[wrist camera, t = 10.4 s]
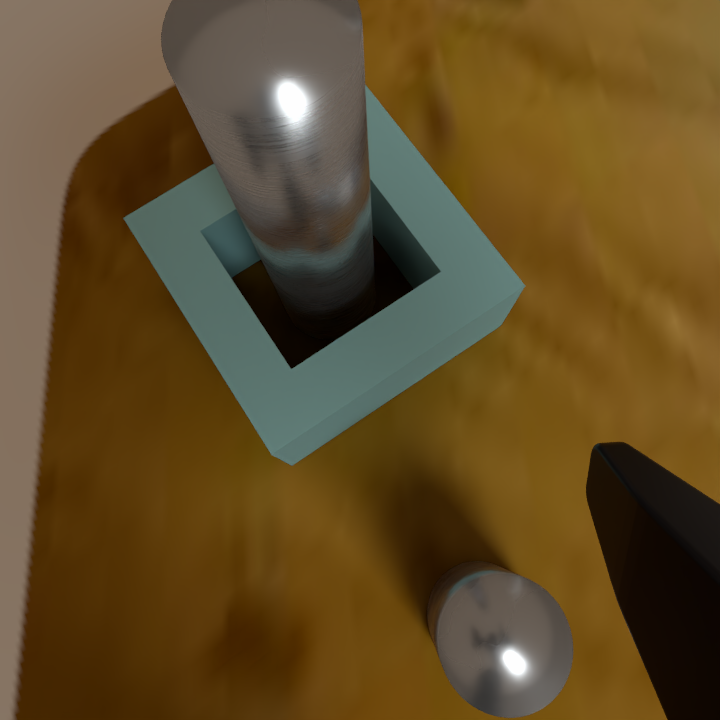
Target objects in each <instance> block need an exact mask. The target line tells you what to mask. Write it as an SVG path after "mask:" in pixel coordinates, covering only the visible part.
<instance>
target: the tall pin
mask: <svg viewBox="0 0 720 720" xmlns="http://www.w3.org/2000/svg"><path fill="white" fill-rule="evenodd" d="M161 35H162V36H161V40H162V41H161V42H162V51H163V57H164V60H165V63H166V65H167V68H168V70H169V72H170V74H171V76H172V79H173V81H174V83H175V85H176V87H177V89H178V91H179V93H180V95H181V97H182V99H183V101H184V103H185V105H186V107H187V109H188V111H189V113H190V115H191V117H192V119H193V121H194V123H195V126H196V128H197V130H198V132H199V134H200V136H201V138H202V140H203V142H204V144H205V146H206V148H207V150H208V152H209V154H210V156H211V158H212V160H213V162H214V164H215V166H216V168H217V170H218V172H219V175H220V177H221V179H222V181H223V183H224V185H225V187H226V189H227V191H228V193H229V195H230V197H231V199H232V201H233V203H234V205H235V207H236V209H237V211H238V213H239V215H240V217H241V219H242V222H243V224H244V226H245V228H246V230H247V232H248V234H249V236H250V238H251V240H252V242H253V244H254V246H255V248H256V250H257V252H258V254H259V256H260V258H261V260H262V262H263V264H264V266H265V269H266V271H267V273H268V275H269V277H270V279H271V281H272V283H273V285H274V287H275V289H276V291H277V293H278V295H279V297H280V299H281V301H282V303H283V305H284V307H285V309H286V311H287V313H288V315H289V317H290V319H291V321H292V322H293V323H294V325H295V326H296V327H297V328H298V329H300V330H301V331H302V332H304V333H305V334H307V335H309V336H311V337H314V338H318V339H323V340H334V339H338V338H340V337H342V336H343V335H345V334H346V333H348V332H349V331H351V330H352V329H354V328H355V327H357V326H358V325H360V324H361V323H363V322H365V321H366V320H368V319H369V317H370V315H371V313H372V311H373V308H374V305H375V299H376V291H375V271H374V251H373V231H372V211H371V191H370V171H369V151H368V131H367V111H366V91H365V71H364V51H363V31H362V18H361V12H360V8H359V4H358V1H357V0H172V2H171V4H170V6H169V8H168V10H167V12H166V15H165V19H164V22H163V27H162V34H161Z"/></svg>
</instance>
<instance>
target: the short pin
mask: <svg viewBox="0 0 720 720" xmlns="http://www.w3.org/2000/svg"><path fill="white" fill-rule="evenodd" d="M427 622H428V628H429V631H430V635H431V637H432V640H433V642H434V645H435V648H436V650H437V653H438V656H439V658H440V661H441V663H442V666H443V669H444V671H445V673H446V676H447V678H448V679H449V681H450V683H451V684H452V686H453V687H454V689H455V690H456V691H457V692H458V693H459V695H460V696H461V697H462V698H463V699H464V700H466V701H467V702H468V703H469V704H471V705H472V706H474V707H475V708H477V709H478V710H481V711H483V712H485V713H487V714H491V715H494V716H499V717H509V718H514V717H522V716H526V715H529V714H532V713H534V712H537V711H539V710H540V709H542V708H544V707H545V706H547V705H548V704H549V703H550V702H551V701H552V700H554V698H555V697H556V696H557V695H558V694H559V693H560V691H561V689H562V688H563V686H564V685H565V683H566V680H567V678H568V676H569V673H570V669H571V665H572V659H573V641H572V635H571V630H570V627H569V624H568V621H567V619H566V617H565V615H564V612H563V611H562V609H561V608H560V606H559V604H558V603H557V602H556V601H555V599H554V598H553V597H552V596H551V595H550V594H549V593H548V592H547V591H546V590H545V589H543V588H542V587H541V586H539V585H538V584H536V583H535V582H533V581H531V580H529V579H527V578H524V577H522V576H520V575H518V574H515V573H513V572H511V571H509V570H506V569H504V568H502V567H500V566H497V565H495V564H492V563H488V562H482V561H471V562H466V563H462V564H459V565H457V566H455V567H453V568H451V569H450V570H448V571H447V572H446V573H445V574H443V575H442V576H441V578H440V579H439V580H438V581H437V583H436V584H435V586H434V588H433V590H432V592H431V594H430V597H429V601H428V606H427Z"/></svg>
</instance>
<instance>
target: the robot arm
mask: <svg viewBox="0 0 720 720" xmlns="http://www.w3.org/2000/svg"><path fill="white" fill-rule="evenodd" d="M586 496H587V502H588V506H589V509H590V512H591V516H592V519H593V522H594V526H595V529H596V532H597V536H598V539H599V543H600V546H601V549H602V553H603V556H604V559H605V563H606V566H607V569H608V573H609V576H610V579H611V583H612V586H613V589H614V592H615V595H616V598H617V601H618V604H619V606H620V609H621V611H622V614H623V616H624V619H625V621H626V623H627V626H628V628H629V630H630V633H631V635H632V637H633V640H634V642H635V644H636V647H637V649H638V651H639V654H640V656H641V658H642V661H643V663H644V665H645V668H646V670H647V673H648V675H649V677H650V680H651V682H652V684H653V687H654V689H655V691H656V694H657V696H658V698H659V701H660V703H661V705H662V708H663V710H664V712H665V715H666V717H667V719H668V720H720V504H719V503H717V502H716V501H714V500H712V499H711V498H709V497H708V496H706V495H705V494H703V493H702V492H700V491H699V490H697V489H696V488H694V487H693V486H691V485H690V484H688V483H687V482H685V481H683V480H682V479H680V478H679V477H677V476H676V475H674V474H673V473H671V472H670V471H668V470H667V469H665V468H664V467H662V466H661V465H659V464H657V463H656V462H654V461H653V460H651V459H650V458H648V457H647V456H645V455H644V454H642V453H641V452H639V451H638V450H636V449H635V448H633V447H632V446H630V445H628V444H626V443H624V442H609V443H598V444H596V445H595V446H594V447H593V449H592V452H591V458H590V465H589V471H588V478H587V484H586Z"/></svg>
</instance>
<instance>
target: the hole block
mask: <svg viewBox="0 0 720 720" xmlns="http://www.w3.org/2000/svg"><path fill="white" fill-rule="evenodd" d="M365 91H366V111H367V131H368V151H369V171H370V191H371V211H372V231H373V235H374V236H375V238H376V239H377V241H378V242H379V243H380V245H381V246H382V247H383V249H384V250H385V251H386V253H387V254H388V255H389V257H390V258H391V259H392V261H393V262H394V263H395V265H396V266H397V267H398V269H399V270H400V272H401V273H402V274H403V276H404V277H405V278H406V280H407V281H408V282H409V284H410V285H411V286H412V288H413V289H414V290H412V291H411V292H409V293H408V294H406V295H404V296H403V297H401V298H400V299H398V300H397V301H395V302H394V303H392V304H391V305H389V306H388V307H386V308H385V309H383V310H381V311H380V312H378V313H377V314H375V315H374V316H372V317H371V318H369V319H368V320H366V321H365V322H363V323H361V324H360V325H358V326H357V327H355V328H354V329H352V330H351V331H349V332H348V333H346V334H345V335H343V336H342V337H340V338H338V339H337V340H335V341H334V342H332V343H331V344H329V345H328V346H326V347H325V348H323V349H322V350H320V351H318V352H317V353H315V354H314V355H312V356H311V357H309V358H308V359H306V360H305V361H303V362H302V363H300V364H299V365H297V366H295V367H294V368H292V369H291V368H290V367H289V365H288V364H287V362H286V361H285V359H284V357H283V356H282V354H281V353H280V351H279V350H278V348H277V347H276V345H275V344H274V342H273V341H272V339H271V338H270V336H269V335H268V333H267V332H266V330H265V329H264V327H263V326H262V324H261V323H260V321H259V320H258V318H257V317H256V315H255V314H254V312H253V310H252V309H251V307H250V306H249V304H248V303H247V301H246V300H245V298H244V297H243V295H242V294H241V292H240V291H239V289H238V288H237V286H236V285H235V283H234V282H233V280H232V279H231V278H232V277H234V276H235V275H237V274H239V273H240V272H242V271H243V270H245V269H246V268H248V267H250V266H251V265H253V264H254V263H256V262H258V261H259V260H261V258H260V256H259V254H258V252H257V250H256V248H255V246H254V244H253V242H252V240H251V238H250V236H249V234H248V232H247V230H246V228H245V226H244V224H243V222H242V219H241V217H240V215H239V213H238V211H237V209H236V207H235V205H234V203H233V201H232V199H231V197H230V195H229V193H228V191H227V189H226V187H225V185H224V183H223V181H222V179H221V177H220V175H219V172H218V170H217V168H216V166H215V164H212V165H211V166H209V167H207V168H206V169H204V170H202V171H201V172H199V173H197V174H196V175H194V176H192V177H191V178H189V179H187V180H186V181H184V182H182V183H181V184H179V185H177V186H176V187H174V188H172V189H171V190H169V191H167V192H166V193H164V194H162V195H161V196H159V197H157V198H156V199H154V200H152V201H151V202H149V203H147V204H146V205H144V206H142V207H141V208H139V209H137V210H136V211H134V212H132V213H131V214H129V215H127V216H126V217H124V220H125V222H126V223H127V225H128V226H129V228H130V230H131V231H132V233H133V234H134V236H135V238H136V239H137V241H138V242H139V244H140V246H141V247H142V249H143V250H144V252H145V254H146V255H147V257H148V258H149V260H150V262H151V263H152V265H153V266H154V268H155V270H156V271H157V273H158V274H159V276H160V277H161V279H162V281H163V282H164V284H165V285H166V287H167V289H168V290H169V292H170V293H171V295H172V297H173V298H174V300H175V301H176V303H177V305H178V306H179V308H180V309H181V311H182V313H183V314H184V316H185V317H186V319H187V321H188V322H189V324H190V325H191V327H192V329H193V330H194V332H195V333H196V335H197V337H198V338H199V340H200V341H201V343H202V344H203V346H204V348H205V349H206V351H207V352H208V354H209V356H210V357H211V359H212V360H213V362H214V364H215V365H216V367H217V368H218V370H219V372H220V373H221V375H222V376H223V378H224V380H225V381H226V383H227V384H228V386H229V388H230V389H231V391H232V392H233V394H234V396H235V397H236V399H237V400H238V402H239V404H240V405H241V407H242V408H243V410H244V411H245V413H246V415H247V416H248V418H249V419H250V421H251V423H252V424H253V426H254V427H255V429H256V431H257V432H258V434H259V435H260V437H261V439H262V440H263V442H264V443H265V445H266V447H267V448H268V450H269V451H270V453H271V455H273V456H275V457H277V458H279V459H280V460H282V461H284V462H286V463H288V464H290V465H294V464H295V463H297V462H298V461H300V460H301V459H303V458H304V457H306V456H307V455H309V454H310V453H312V452H313V451H315V450H316V449H318V448H319V447H321V446H322V445H324V444H325V443H327V442H328V441H330V440H331V439H333V438H334V437H336V436H337V435H339V434H340V433H342V432H343V431H345V430H346V429H348V428H349V427H351V426H352V425H354V424H355V423H357V422H358V421H359V420H361V419H362V418H364V417H365V416H367V415H368V414H370V413H371V412H373V411H374V410H376V409H377V408H379V407H380V406H382V405H383V404H385V403H386V402H388V401H389V400H391V399H392V398H394V397H395V396H397V395H398V394H400V393H401V392H403V391H404V390H406V389H407V388H409V387H410V386H412V385H413V384H415V383H416V382H418V381H419V380H421V379H422V378H424V377H425V376H427V375H428V374H430V373H431V372H433V371H434V370H436V369H437V368H439V367H440V366H441V365H443V364H444V363H446V362H447V361H449V360H450V359H452V358H453V357H455V356H456V355H458V354H459V353H461V352H462V351H464V350H465V349H467V348H468V347H470V346H471V345H473V344H474V343H476V342H477V341H479V340H480V339H482V338H483V337H485V336H486V335H488V334H489V333H491V332H492V331H494V330H495V329H497V328H498V327H500V326H501V325H502V323H503V322H504V320H505V318H506V317H507V315H508V313H509V312H510V310H511V308H512V307H513V305H514V303H515V302H516V300H517V298H518V297H519V295H520V294H521V292H522V290H523V289H524V287H525V285H524V284H523V282H522V281H521V280H520V279H519V277H518V276H517V275H516V274H515V272H514V271H513V270H512V269H511V267H510V266H509V265H508V264H507V262H506V261H505V260H504V259H503V257H502V256H501V255H500V253H499V252H498V251H497V250H496V248H495V247H494V246H493V245H492V243H491V242H490V241H489V240H488V238H487V237H486V236H485V235H484V233H483V232H482V231H481V230H480V228H479V227H478V226H477V225H476V223H475V222H474V221H473V220H472V218H471V217H470V216H469V215H468V213H467V212H466V211H465V209H464V208H463V207H462V206H461V204H460V203H459V202H458V201H457V199H456V198H455V197H454V196H453V194H452V193H451V192H450V191H449V189H448V188H447V187H446V186H445V184H444V183H443V182H442V181H441V179H440V178H439V177H438V176H437V174H436V173H435V172H434V170H433V169H432V168H431V167H430V165H429V164H428V163H427V162H426V160H425V159H424V158H423V157H422V155H421V154H420V153H419V152H418V150H417V149H416V148H415V147H414V145H413V144H412V143H411V142H410V140H409V139H408V138H407V137H406V135H405V134H404V133H403V131H402V130H401V129H400V128H399V126H398V125H397V124H396V123H395V121H394V120H393V119H392V118H391V116H390V115H389V114H388V113H387V111H386V110H385V109H384V108H383V106H382V105H381V104H380V103H379V101H378V100H377V99H376V98H375V96H374V95H373V94H372V92H371V91H370V90H369V89H368V87H367V86H366V85H365Z"/></svg>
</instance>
